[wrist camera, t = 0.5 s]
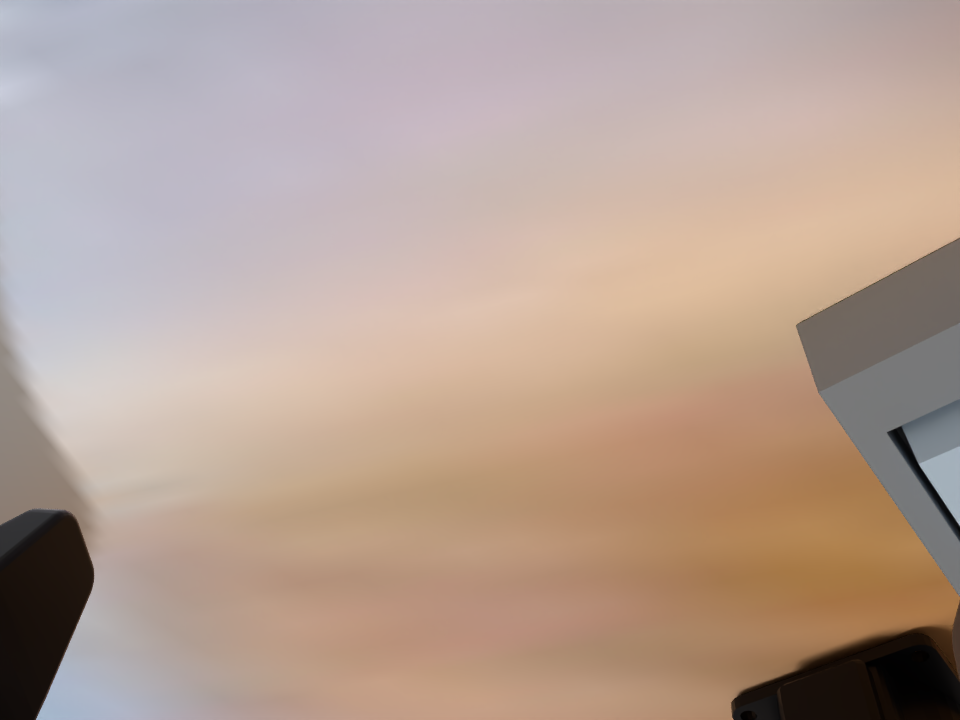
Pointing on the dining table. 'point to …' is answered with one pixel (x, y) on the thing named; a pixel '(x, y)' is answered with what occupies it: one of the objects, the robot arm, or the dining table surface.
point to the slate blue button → (939, 451)
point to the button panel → (896, 382)
